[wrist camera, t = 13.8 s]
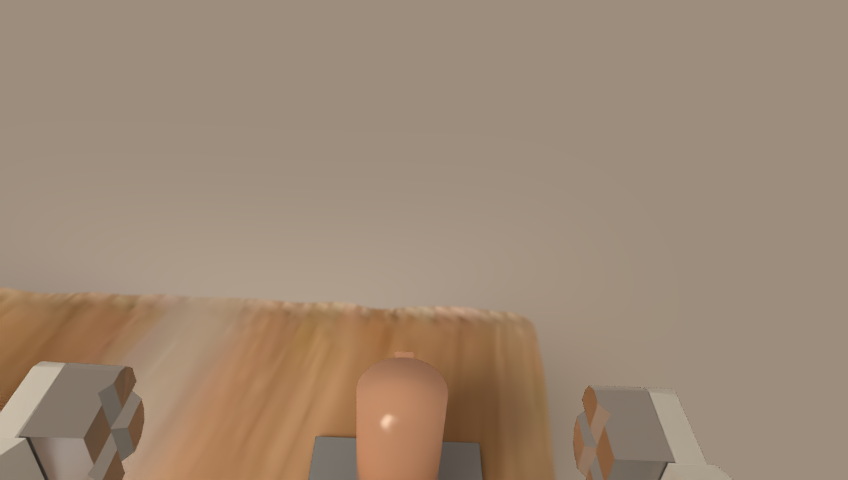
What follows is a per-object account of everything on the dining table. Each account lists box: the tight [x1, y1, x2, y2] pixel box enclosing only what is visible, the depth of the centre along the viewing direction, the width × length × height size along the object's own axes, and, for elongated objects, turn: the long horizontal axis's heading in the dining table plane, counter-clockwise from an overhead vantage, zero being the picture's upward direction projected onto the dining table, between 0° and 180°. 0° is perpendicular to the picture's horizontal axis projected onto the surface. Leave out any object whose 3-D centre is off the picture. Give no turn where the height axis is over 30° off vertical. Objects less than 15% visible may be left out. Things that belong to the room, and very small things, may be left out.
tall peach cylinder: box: [356, 351, 448, 480], centre depth 39 cm, size 5×8×12 cm, turn 179°
